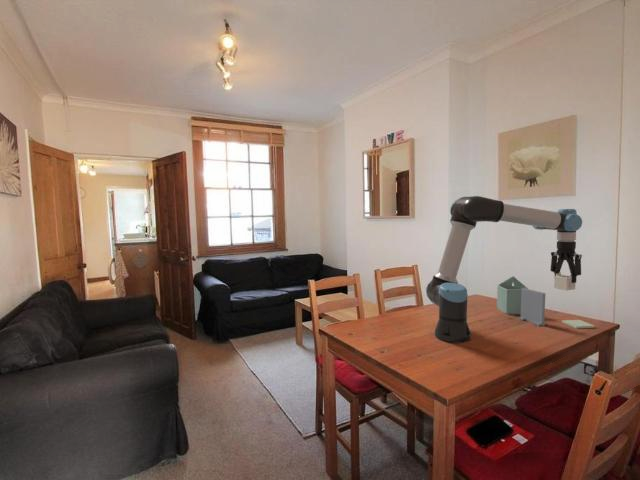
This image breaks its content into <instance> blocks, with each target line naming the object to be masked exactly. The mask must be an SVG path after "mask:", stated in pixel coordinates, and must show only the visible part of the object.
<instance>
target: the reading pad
mask: <svg viewBox="0 0 640 480" xmlns="http://www.w3.org/2000/svg"><path fill="white" fill-rule="evenodd" d="M561 323H563V324H565V325H568V326H569V327H572V328H574V329H594V327H596V326H595V325H593V324H591V323H589V322H587V321H584V320H582V319H563V320H561Z"/></svg>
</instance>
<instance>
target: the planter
mask: <svg viewBox="0 0 640 480" xmlns="http://www.w3.org/2000/svg"><path fill="white" fill-rule="evenodd" d="M521 288H526V289H529V288H528V287H527V286H526V285H524V283H522V282H521V281H520V280H518V279H517V278H516V277H515V276H514V275H513V276H510V277H509V278H507V279H506V280H504V281H502V282H500V283H498V284H497V288H496V296H497V297H496V309H497V310H499V311H500V312H502V313H504V314H505V313H506V314H505V315H521Z"/></svg>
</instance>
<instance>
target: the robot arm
mask: <svg viewBox="0 0 640 480" xmlns="http://www.w3.org/2000/svg"><path fill="white" fill-rule="evenodd" d="M449 211H450V216H451V217H450V221H449V223H450V224H451V229H450V230H449V231H450V232H449V235H448V239H447V242H446V246H445V249H444V252H443V255H442V259H441V262H440V265H439V268H438V270H437V271H438V272H437V273H434V274H433V276H432V280H431V281H429V282H428V284H427V285H426V288H425V292H426V296H427V298H428V299H429V301H430V302H431V303H432V304H435V306H437V307H438V321H437V323H436V326H435V329H434V336H435V337H436V338H437V339H439V340H441V341H444V342H448V343H456V344H457V343H460V344H461V343H467V342H469V341H471V340H472V338H471V337H472V333H471V330H470V327H469V323H468V297H469V296H468V289H467V288H466V287H465V286H464V285H462V284H460V283H459V281H458V280H457V276H458V273H459V269H460V265H461V262H462V260H463V257H464V252H465V251H466V246H467V244H468V240H469V237H470V233H471V231H472V230H474V229H475V228H476V225H477V223H479V222H480V223H481V222H488V223H489V222H491V223H499V222H506V223H513V224H520V225H526V226H532V228H533V229H534V230H540V231H541V230H542V231H543V230H550V231H556V240H557V241H556V249H557V250H556V251H552V252H550V255H551V262H550V272H552V273H554V276H553V277H554V280H555V276H560V275H562V273H561V270H562V267H563V265H564V261H566V262H567V264H568V269H569V271H570V275H568V276H569V289H570V290H569V291H573V290H572V289H574V290H576V283H577V277H578V276H582V257H583V255H582V254H578V253H577V252H576V248H577V247H576V245H577V242H576V239H577V231H578V230H579V229H580V228H582V224H583V219H582V216H580V215H579V214H577V209H575V208H559V209H558V210H557V211H552V210H547V209H539V208H533V207H526V206H520V205H515V204H513V205H512V204H507V203H504V202H503V201H502V200H497V199H492V198H488V197H485V196H479V195H473V196H462V197H459V198H457V199H455V200H454V201H453V203H451V206H450V209H449Z"/></svg>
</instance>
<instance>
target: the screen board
mask: <svg viewBox="0 0 640 480" xmlns="http://www.w3.org/2000/svg"><path fill="white" fill-rule="evenodd" d="M545 311H546V293H545V292H541V291H537V290H533V289H529V288H528V289H526V288H521V314H520V317H519V316H518V320H519V321H526V322H529V323H532V324H533V325H534V326H537V327H543V326H546V325H547V322H545V320H546V319H545V317H546V314H545V313H546V312H545Z"/></svg>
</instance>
